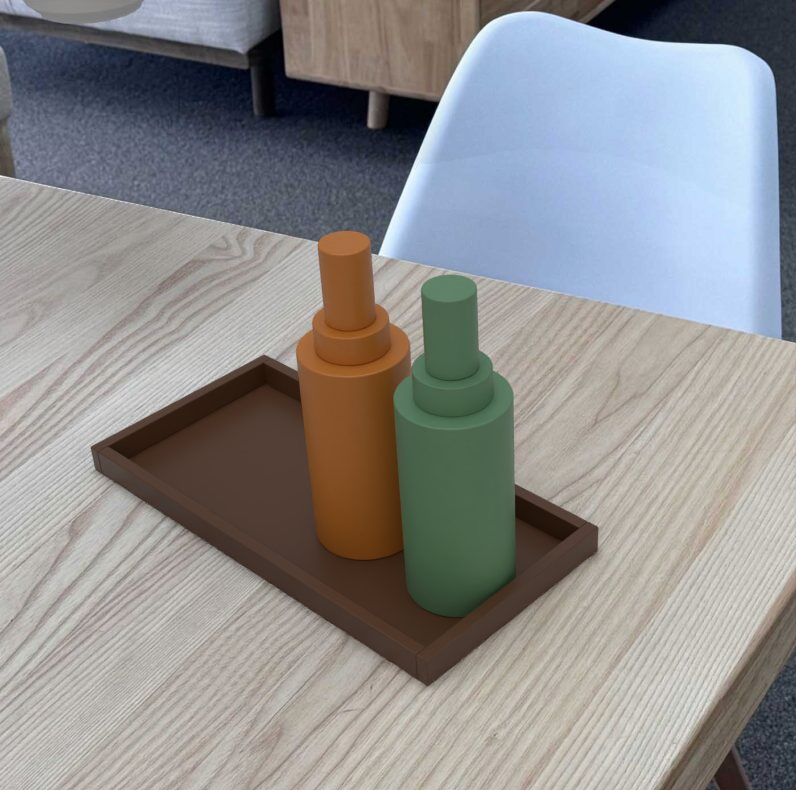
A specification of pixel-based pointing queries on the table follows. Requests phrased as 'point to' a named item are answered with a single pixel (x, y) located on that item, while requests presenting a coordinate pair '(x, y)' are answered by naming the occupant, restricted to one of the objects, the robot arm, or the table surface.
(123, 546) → the table surface
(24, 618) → the table surface
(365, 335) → the amber bottle
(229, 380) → the tray
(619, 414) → the table surface
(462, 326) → the green bottle
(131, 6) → the can
